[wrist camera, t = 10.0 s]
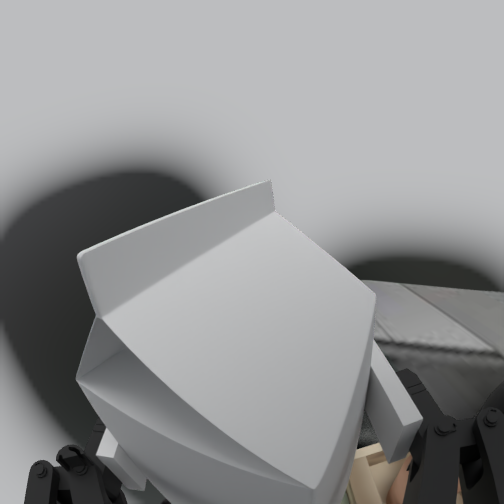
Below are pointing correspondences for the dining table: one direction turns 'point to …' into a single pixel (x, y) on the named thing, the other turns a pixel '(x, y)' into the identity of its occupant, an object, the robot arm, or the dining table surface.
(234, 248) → the milk carton
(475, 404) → the dining table surface
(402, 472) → the caddy
